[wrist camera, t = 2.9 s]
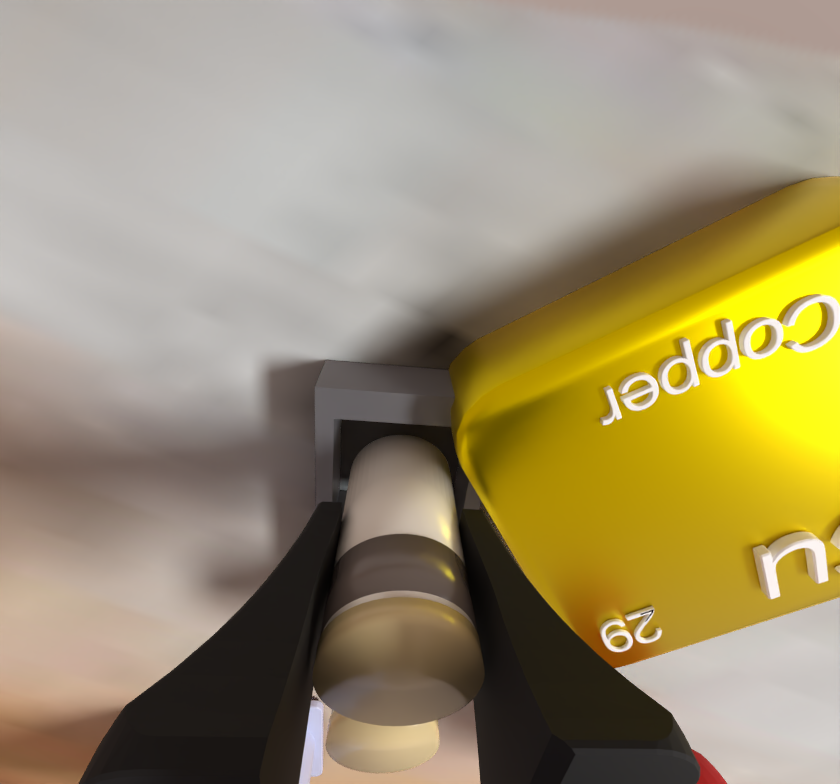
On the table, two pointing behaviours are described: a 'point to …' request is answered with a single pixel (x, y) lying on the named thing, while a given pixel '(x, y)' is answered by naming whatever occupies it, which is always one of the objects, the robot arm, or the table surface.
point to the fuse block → (378, 415)
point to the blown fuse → (399, 594)
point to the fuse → (380, 744)
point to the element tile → (672, 432)
